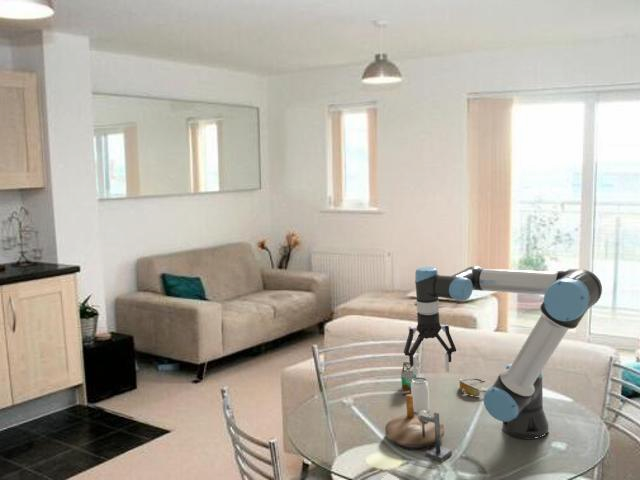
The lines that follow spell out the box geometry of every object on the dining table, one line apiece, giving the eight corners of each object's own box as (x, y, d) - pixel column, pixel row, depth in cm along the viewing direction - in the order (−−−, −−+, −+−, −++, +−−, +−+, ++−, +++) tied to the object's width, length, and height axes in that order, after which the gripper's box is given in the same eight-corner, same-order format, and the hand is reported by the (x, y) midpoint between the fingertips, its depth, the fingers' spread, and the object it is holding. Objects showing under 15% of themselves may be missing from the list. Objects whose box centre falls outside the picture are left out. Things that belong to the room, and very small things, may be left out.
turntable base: (447, 435, 223) (447, 429, 223) (420, 454, 212) (420, 448, 212) (410, 423, 234) (409, 417, 234) (382, 441, 223) (381, 435, 223)
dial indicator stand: (451, 454, 211) (449, 412, 208) (441, 462, 206) (439, 419, 204) (425, 445, 218) (423, 405, 215) (415, 452, 214) (412, 411, 211)
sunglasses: (452, 388, 262) (453, 376, 261) (482, 385, 268) (483, 373, 267) (473, 401, 249) (474, 388, 248) (505, 397, 255) (506, 385, 254)
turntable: (455, 428, 223) (454, 402, 221) (421, 452, 209) (420, 424, 207) (408, 413, 237) (406, 389, 235) (373, 435, 223) (371, 409, 221)
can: (409, 408, 246) (407, 379, 244) (424, 405, 248) (423, 375, 246) (416, 415, 240) (415, 385, 238) (432, 412, 242) (431, 381, 240)
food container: (418, 396, 256) (416, 372, 255) (402, 396, 258) (400, 372, 256) (419, 384, 268) (418, 361, 266) (404, 384, 269) (403, 361, 268)
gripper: (459, 306, 228) (461, 365, 232) (393, 311, 228) (396, 370, 232) (464, 312, 221) (466, 373, 224) (395, 317, 220) (399, 378, 224)
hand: (430, 372), depth 228 cm, fingers open, 11 cm apart
